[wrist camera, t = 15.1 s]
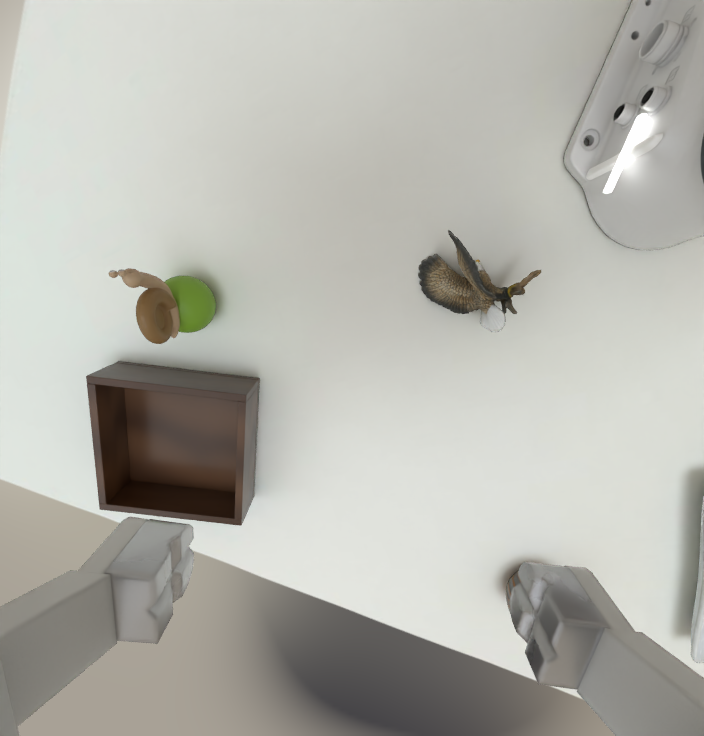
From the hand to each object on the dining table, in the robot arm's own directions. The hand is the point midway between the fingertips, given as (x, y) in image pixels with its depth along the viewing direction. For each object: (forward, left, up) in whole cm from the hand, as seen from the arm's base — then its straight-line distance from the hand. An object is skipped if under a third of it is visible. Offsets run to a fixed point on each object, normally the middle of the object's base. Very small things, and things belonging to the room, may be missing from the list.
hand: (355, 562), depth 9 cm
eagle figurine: (-6, +10, -31) cm, 33 cm away
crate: (+15, -18, -31) cm, 39 cm away
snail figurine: (-1, -17, -31) cm, 36 cm away
